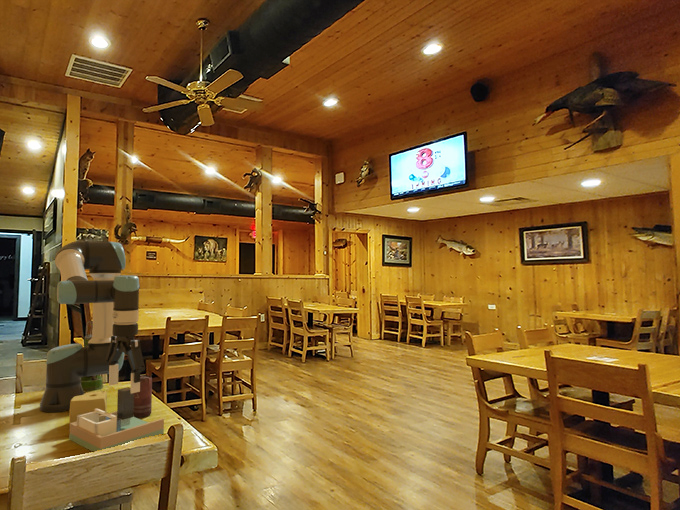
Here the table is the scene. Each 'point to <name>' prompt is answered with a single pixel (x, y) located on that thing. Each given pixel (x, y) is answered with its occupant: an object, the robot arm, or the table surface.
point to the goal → (97, 422)
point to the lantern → (91, 381)
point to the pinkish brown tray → (126, 434)
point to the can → (143, 398)
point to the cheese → (87, 404)
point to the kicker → (124, 408)
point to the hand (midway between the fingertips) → (124, 388)
